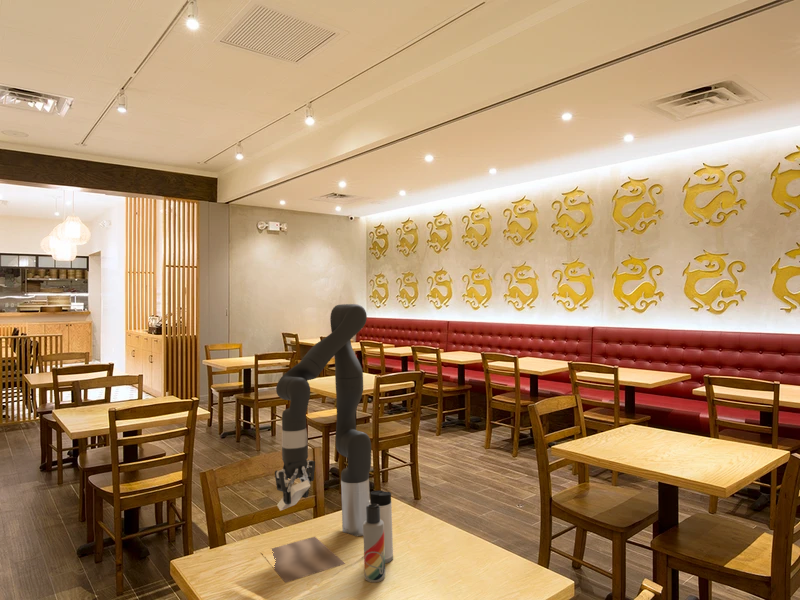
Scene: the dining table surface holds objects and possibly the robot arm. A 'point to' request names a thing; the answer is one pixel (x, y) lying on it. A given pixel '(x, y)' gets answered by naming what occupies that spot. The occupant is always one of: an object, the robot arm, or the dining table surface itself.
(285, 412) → the robot arm
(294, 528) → the dining table surface
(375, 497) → the travel mug
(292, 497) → the tile
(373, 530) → the lotion bottle
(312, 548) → the cloth
